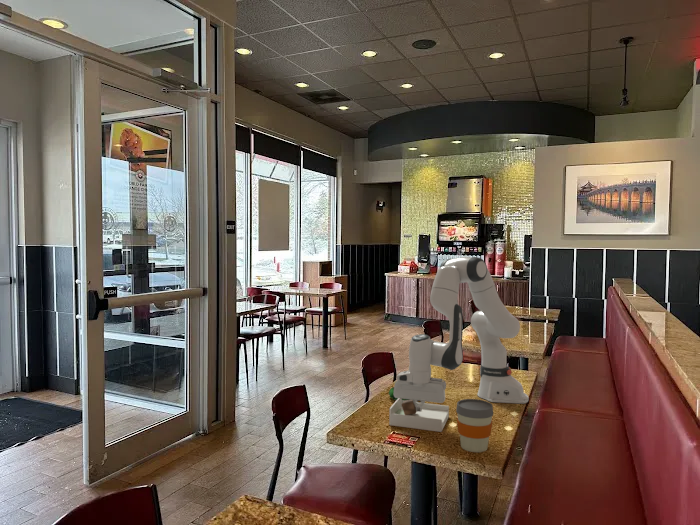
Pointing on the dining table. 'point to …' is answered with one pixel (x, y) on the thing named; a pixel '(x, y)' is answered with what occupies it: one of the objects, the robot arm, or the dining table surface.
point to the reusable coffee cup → (474, 424)
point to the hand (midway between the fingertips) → (418, 411)
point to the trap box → (419, 416)
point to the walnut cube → (409, 407)
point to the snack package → (393, 394)
